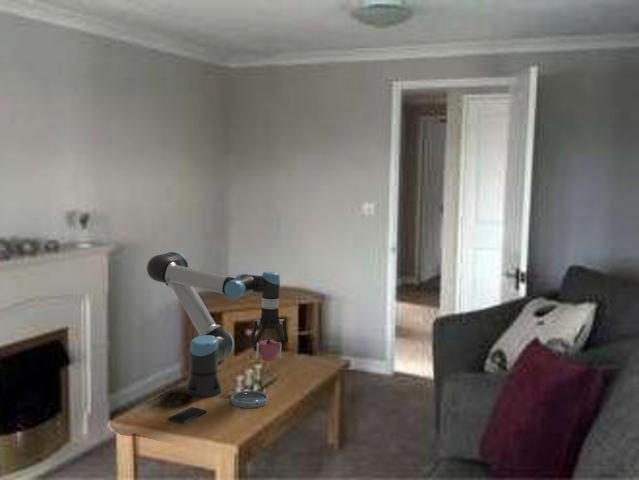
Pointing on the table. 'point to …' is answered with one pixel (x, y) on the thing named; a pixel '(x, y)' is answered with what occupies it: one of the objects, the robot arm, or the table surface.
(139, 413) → the table surface
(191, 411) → the phone
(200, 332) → the robot arm
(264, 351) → the apple
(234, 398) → the dish
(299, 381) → the table surface
